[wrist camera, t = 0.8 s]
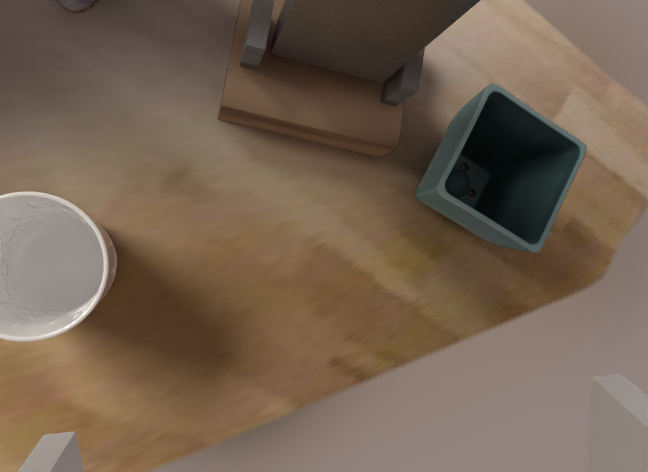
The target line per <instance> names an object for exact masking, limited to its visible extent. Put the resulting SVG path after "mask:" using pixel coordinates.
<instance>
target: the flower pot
mask: <svg viewBox="0 0 648 472" xmlns="http://www.w3.org/2000/svg"><path fill="white" fill-rule="evenodd" d="M585 153H586V145H585V144H584V143H583V142H582V141H580V140H579V139H578V138H576V137H574V136H573V135H572V134H570V133H568V132H567V131H565V130H564V129H562V128H560V127H559V126H557V125H556V124H554V123H553V122H551V121H550V120H548V119H547V118H545V117H544V116H542V115H541V114H539V113H538V112H536V111H535V110H533V109H532V108H530V107H529V106H527V105H526V104H524V103H523V102H521V101H520V100H519V99H517V98H516V97H514V96H513V95H511V94H510V93H509V92H507V91H506V90H505V89H503V88H502V87H500V86H498V85H496V84H492V83H491V84H489V85H488V86H487V87H486V88H484V89H483V90H482V91H481V92H480V93H479V94H477V95H476V96H475V97H474V98H473V99H472V100H470V101H469V102H468V103H467V104H466V105H465V106H464V107H463V108H462V109H461V110H460V111H459V112H458V113H457V114H456V116H455V117H454V118H453V120H452V122H451V123H450V125H449V127H448V129H447V131H446V133H445V135H444V137H443V139H442V141H441V143H440V145H439V147H438V149H437V151H436V153H435V155H434V157H433V159H432V161H431V163H430V165H429V167H428V169H427V171H426V172H425V174H424V176H423V178H422V180H421V182H420V184H419V186H418V188H417V190H416V193H415V195H416V198H417V199H418V200H419V201H421V202H422V203H424V204H426V205H427V206H429V207H431V208H432V209H434V210H436V211H437V212H439V213H441V214H442V215H444V216H446V217H447V218H449V219H451V220H452V221H454V222H456V223H457V224H459V225H461V226H462V227H464V228H466V229H467V230H469V231H470V232H472V233H474V234H475V235H477V236H478V237H480V238H482V239H483V240H485V241H487V242H489V243H492V244H494V245H498V246H502V247H507V248H512V249H517V250H522V251H528V252H533V253H537V252H539V251H540V249H541V248H542V246H543V245H544V243H545V240H546V238H547V236H548V234H549V232H550V229H551V227H552V225H553V223H554V220H555V218H556V216H557V214H558V211H559V209H560V207H561V205H562V203H563V200H564V198H565V196H566V194H567V192H568V190H569V188H570V186H571V184H572V182H573V180H574V178H575V175H576V173H577V171H578V169H579V167H580V165H581V163H582V161H583V159H584V157H585ZM463 164H465V165H466V166H467V169H466V170H463V169H462V165H463ZM470 190H473V191H474V195H473V196H470V195H469V191H470Z"/></svg>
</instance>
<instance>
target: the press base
mask: <svg viewBox="0 0 648 472" xmlns="http://www.w3.org/2000/svg"><path fill="white" fill-rule="evenodd" d="M284 2H285V0H241V2H240V7H239V12H238V17H237V22H236V27H235V33H234V38H233V43H232V48H231V53H230V59H229V64H228V69H227V74H226V79H225V84H224V90H223V95H222V100H221V105H220V110H219V115H218V119H220V120H224V121H228V122H232V123H236V124H241V125H245V126H249V127H253V128H258V129H262V130H266V131H270V132H275V133H279V134H283V135H287V136H292V137H296V138H300V139H304V140H309V141H313V142H317V143H321V144H325V145H330V146H334V147H338V148H342V149H347V150H351V151H355V152H359V153H364V154H368V155H372V156H376V157H380V156H382V155H384V154H386V153H388V152H390V151H392V150H394V149H396V148H398V142H399V136H400V130H401V124H402V118H403V112H404V106H405V100H406V99H407V98H408V97H410V96H411V95H413V94H414V93H416V92H417V91H418V86H419V80H420V74H421V68H422V62H423V56H424V50H425V47H424V48H423V49H422V50H421V51H420V52H419V53H417V54H416V55H415V56H414V57H413V58H411V59H410V60H409V61H408V62H407V63H406V64H404V65H403V66H402V67H401V68H400V69H399V70H397V71H396V72H395V73H394V74H393V75H391V76H390V77H389V78H388V79H387V80H386V81H384V82H383V83H378V82H375V81H371V80H367V79H364V78H360V77H356V76H353V75H349V74H345V73H342V72H338V71H334V70H330V69H327V68H323V67H319V66H316V65H312V64H308V63H305V62H301V61H297V60H293V59H290V58H286V57H282V56H279V55H275V54H271V50H270V47H271V42H272V37H273V33H274V30H275V29H276V24H277V19H278V16H279V14H280V11H281V9H282V7H283V4H284Z"/></svg>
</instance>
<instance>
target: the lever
mask: <svg viewBox="0 0 648 472" xmlns="http://www.w3.org/2000/svg"><path fill="white" fill-rule="evenodd" d="M479 1H480V0H285V2H284V4H283V7H282V9H281V11H280V14H279V16H278V19H277V24H276V29H275V30H274V33H273V37H272V42H271V47H270V50H271V54H275V55H279V56H282V57H286V58H290V59H293V60H297V61H301V62H305V63H308V64H312V65H316V66H319V67H323V68H327V69H330V70H334V71H338V72H342V73H345V74H349V75H353V76H356V77H360V78H364V79H367V80H371V81H375V82H378V83H383V82H384V81H386V80H387V79H388V78H389V77H390V76H391V75H393V74H394V73H395V72H396V71H397V70H399V69H400V68H401V67H402V66H403V65H404V64H406V63H407V62H408V61H409V60H410V59H411V58H413V57H414V56H415V55H416V54H417V53H419V52H420V51H421V50H422V49H423V48H424V47H426V46H427V45H428V44H429V43H430V42H432V41H433V40H434V39H435V38H436V37H437V36H439V35H440V34H441V33H442V32H443V31H445V30H446V29H447V28H448V27H449V26H450V25H452V24H453V23H454V22H455V21H456V20H458V19H459V18H460V17H461V16H462V15H463V14H465V13H466V12H467V11H468V10H469V9H471V8H472V7H473V6H474V5H475V4H476V3H478V2H479Z"/></svg>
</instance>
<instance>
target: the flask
mask: <svg viewBox="0 0 648 472" xmlns="http://www.w3.org/2000/svg"><path fill="white" fill-rule="evenodd" d="M59 2H60V3H61V4H62V6H64V7H65V8H67V9H68V10H70V11H72V12H81V11H83V10H87V9H89V8H90V7H92V6H95V5H96V4H98V0H59Z"/></svg>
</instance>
